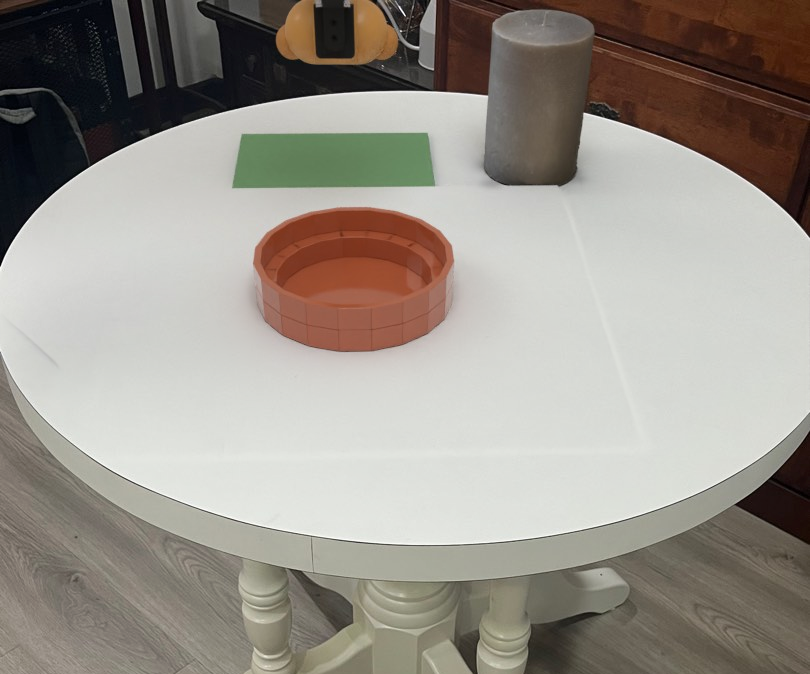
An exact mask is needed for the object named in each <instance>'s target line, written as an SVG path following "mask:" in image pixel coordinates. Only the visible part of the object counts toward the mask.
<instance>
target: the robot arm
mask: <svg viewBox="0 0 810 674" xmlns="http://www.w3.org/2000/svg"><path fill="white" fill-rule="evenodd" d="M315 1H316V4H314V5H313V9H314V28H315V47H316V56H317V57H318V58H320V59H351V58H353V57H354V55H355V35H354V4H350V0H315Z"/></svg>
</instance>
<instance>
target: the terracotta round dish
mask: <svg viewBox="0 0 810 674" xmlns="http://www.w3.org/2000/svg"><path fill="white" fill-rule="evenodd" d="M454 257H455V256H454V250H453V245H452V244H451V242H450V241H449V240H448V239H447V237H446V236H445V235H444V233H442V231H441V230H440V229H438V228H437V227H435V226H434V225H431V224H430V223H429V222H427V221H425V220H424V219H421V218H419V217H417V216H414V215H413V216H412V215H409V214H406V213H404V212H400V211H399V210H393V209H385V208H379V207H372V206H338V207H332V208H325V209H320V210H319V209H318V210H314V211H313V210H312V211H309V212H306V213H303V214H300V215H296V216H294V217H292V218H288V219H286V220H284V221H282V222H281V223H279V224H278V225H276V226H274V227H273V228H272V229H270V230H268V231H266V233H265V234H264V235H263V237H262V238H261V239H260V240H259V242H258V243H257V245H256V246H255V247H254V253H253V261H252V267H253V277H254V284H255V294H256V302H257V307H258V308H259V311H260V313H261V315H262V317H263V319H264V320H265V322H266V323H267V324H268V325H269V326H270V327H272V328H273V329H274V330H276V332H278V333H279V334H280V335H282V336H284V337H286V338H288V339H290V340H293V341H296V342H298V343H301V344H303V345H306V346H308V347H312V348H318V349H323V350H324V349H325V350H329V351H335V352H371V351H372V352H373V351H378V350H382V349H387V348H391V347H396V346H397V347H398V346H402V345H405V344H408V343H409V342H411V341H414V340H416V339H418V338H420V337H423V336H425V335H428V334H429V333H430V332H431V331H432V330H434V328H436V327H437V326H439V324H440V323H442V322H443V321H444V320H445V319H446V317H447V314H448V313H449V311H450V308H451V306H452V304H453V292H454V273H455V272H454V271H455V259H454Z"/></svg>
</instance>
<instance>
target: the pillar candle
mask: <svg viewBox="0 0 810 674" xmlns="http://www.w3.org/2000/svg"><path fill="white" fill-rule="evenodd" d="M595 33H596V32H595V27H594V24H593V23H592V22H591V21H589V19H587V18H585V17H583V16H581V15H578V14H576V13H575V14H574V13H571V12H566V11H561V10H554V9H529V10H528V9H527V10H515V11H513V12H507V13H505V14H503V15H502V16H501V17H498V18H496V19H495V20H494V21H493V22H492V28H491V45H490V46H491V47H490V62H489V75H488V89H487V90H488V92H487V105H486V107H487V108H486V119H485V136H484V137H485V138H484V155H483V167H484V170H485V173H486V174H487V175H488V176H489V177H490V178H491V179H493V180H494V181H496V182H499V183H500V184H503V185H508V186H511V187H521V186H522V187H524V186H525V187H526V186H527V187H528V186H529V187H530V186H531V187H533V186H561V185H565V184H566V183H569V182H570V181H571V180H572V179H574V178H575V176H576V174H577V172H578V158H579V149H580V145H581V137H582V130H583V123H584V113H585V106H586V100H587V95H588V86H589V77H590V72H591V64H592V56H593V48H594V39H595Z"/></svg>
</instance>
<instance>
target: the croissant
mask: <svg viewBox="0 0 810 674" xmlns="http://www.w3.org/2000/svg"><path fill="white" fill-rule="evenodd" d="M314 4H316V1H315V0H300V1H298V2H296V3H295V4H294V5H293V6H292V8H291V9H290V11H289V12H288V14H287V16H286V20H285V24H283V25H281V27H280V28H279V29H278V31H277V32H276V36H275V45H276V48H277V50H278V52H279V53H280V55H281V56H283V57H284V58H285V59H287V60H294V61H296V60H301V62H303V63H307V64H309V65H310V64H311V65H348V66H349V65H353V66H355V65H356V66H357V65H365V64H369V63H370V62H372V61H374V60H380V61H385V60H388V59H390V58H391V57H393V56H394V55H395V53H396V52H397V49H398V47H399V38H398V34H397V32H396V30H395V29H394V28H393V27H392V26H391V25H389V24H387V23H388V22H387V20H386V17H385V15H384V13H383V11H382V10H381V9H380V7H379V6H378V5H377V4H375V3H374V2H373V1H371V0H350V4H354V35H355V55H354V57H353V58H351V59H320V58H318V57H317V56H316V47H315V28H314V9H313V5H314Z"/></svg>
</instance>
